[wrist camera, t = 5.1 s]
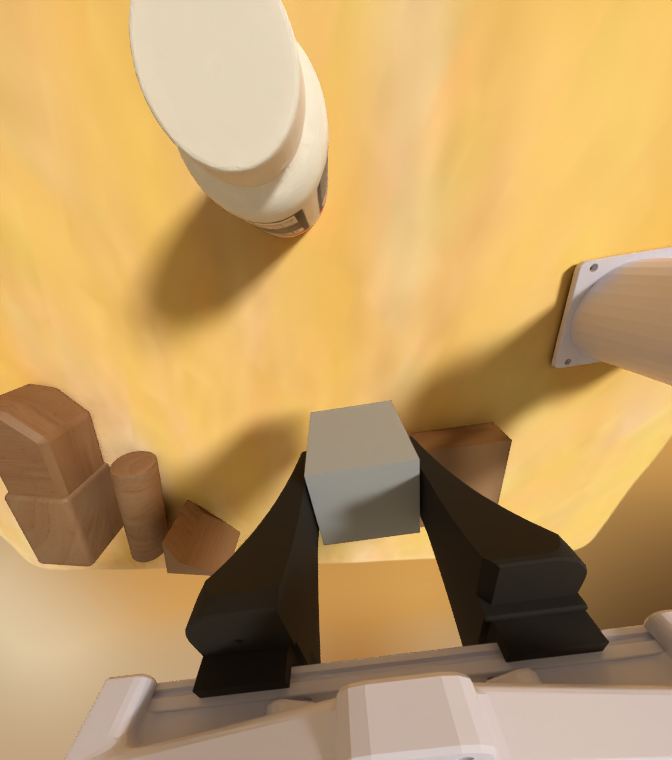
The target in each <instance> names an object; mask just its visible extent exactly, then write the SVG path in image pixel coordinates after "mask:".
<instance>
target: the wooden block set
mask: <svg viewBox="0 0 672 760" xmlns="http://www.w3.org/2000/svg"><path fill="white" fill-rule="evenodd" d="M0 476H1V478H2V480H3V482H4V484H5V486H6V488H7V490H8V493H7V494H6V496H5V500H6V502H7V504H8V506H9V508H10V509H11V511H12V513H13V515H14V517H15V518H16V520H17V522H18V524H19V526H20V528H21V529H22V531H23V533H24V535H25V537H26V539H27V540H28V542H29V544H30V546H31V548H32V550H33V551H34V553H35V555H36V557H37V559H38V561H39V562H40V563H43V564H57V565H73V566H91V565H92V564H93V563H95V561H96V560H97V559H98V557H99V556H100V555H101V554H102V552H103V551H104V550H105V549H106V547H107V546H108V545H109V543H110V542H111V541H112V540H113V538H114V537H115V536H116V534H117V533H118V532H119V531H120V529H121V528H122V527H123V526H124V528H125V532H126V536H127V539H128V543H129V547H130V550H131V554H132V557H133V559H134V560H136V561H138V562H148V561H151V560H154V559H156V558H157V557H159V556H160V555H161V554H162V553H163V552H164V556H165V561H166V567H167V572H168V573H177V574H195V575H210V576H212V575H213V574H214V573H215V572H216V571H217V570H218V569H219V568H220V567H221V566H222V565H223V564H224V563H225V562H226V561H227V560H228V559H229V558H230V557H231V556H232V555H233V554H234V551H235V548H236V544H237V541H238V538H239V535H240V532H239V531H237V530H236V529H234V528H233V527H232V526H230V525H229V524H227V523H226V522H224V521H222V520H221V519H219V518H218V517H216V516H214V515H213V514H211V513H209V512H208V511H206V510H205V509H203V508H201V507H200V506H198V505H197V504H195V503H193V502H191V501H189V500H187V502H186V503H185V505H184V507H183V508H182V510H181V512H180V513H179V515H178V517H177V518H176V520H175V522H174V523H173V525H172V527H171V529H170V530H169V531H168V525H167V519H166V512H165V506H164V500H163V494H162V487H161V481H160V475H159V469H158V462H157V458H156V456H155V455H154V454H152V453H150V452H146V451H138V452H132V453H129V454H126V455H124V456H122V457H120V458H118V459H117V460H116V461H115V462H114V463H113V464H112V465H111V467H109V465H108V464H107V463H104V462H103V460H102V456H101V453H100V449H99V446H98V442H97V438H96V435H95V431H94V428H93V424H92V421H91V417H90V413H89V411H87V410H86V409H84V408H83V407H82V406H80V405H79V404H78V403H76V402H75V401H73V400H72V399H71V398H69V397H68V396H67V395H65V394H64V393H63V392H61V391H60V390H58V389H57V388H53V387H48V386H40V385H33V384H28V385H25V386H23V387H20V388H18V389H15V390H12V391H10V392H7V393H5V394H2V395H0Z"/></svg>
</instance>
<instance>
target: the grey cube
mask: <svg viewBox="0 0 672 760" xmlns="http://www.w3.org/2000/svg"><path fill="white" fill-rule="evenodd" d="M304 477H305V480H306V484H307V487H308V491H309V494H310V498H311V501H312V505H313V508H314V512H315V515H316V519H317V522H318V526H319V529H320V533H321V536H322V540H323V543H324V545H330V544H337V543H345V542H352V541H360V540H367V539H374V538H382V537H389V536H397V535H404V534H412V533H419V532H420V459H419V457H418V455H417V453H416V451H415V449H414V447H413V445H412V443H411V441H410V439H409V437H408V434H407V432H406V430H405V428H404V426H403V424H402V422H401V420H400V418H399V416H398V414H397V412H396V410H395V408H394V406H393V403H392V401H391V400H390V401H384V402H377V403H371V404H364V405H357V406H351V407H344V408H338V409H331V410H324V411H318V412H311V414H310V424H309V434H308V444H307V453H306V463H305V473H304Z"/></svg>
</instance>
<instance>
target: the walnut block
mask: <svg viewBox="0 0 672 760" xmlns="http://www.w3.org/2000/svg"><path fill="white" fill-rule="evenodd" d="M408 436H412V437H413V438H414V439H415V440H416V441H417V442H418V443H419V444H420V445H421V446H422V447H423V448H424V449H425V450H426V451H427V452H428V453H429V454H430V455H431V456H432V457H434V458H435V459H436V460H437V461H438V462H439V463H440V464H441V465H443V466H444V467H445V468H446V469H447V470H448V471H450V472H451V473H452V474H453V475H455V476H456V477H457V478H459V479H460V480H461V481H463V482H464V483H465V484H467V485H468V486H470V487H471V488H472V489H474V490H475V491H477V492H478V493H480V494H481V495H483V496H485V497H486V498H488V499H490V500H491V501H493V502H495V503H496V504H498V502H499V497H500V492H501V488H502V483H503V479H504V474H505V469H506V465H507V460H508V456H509V451H510V446H511V442H512V440H511V439H510V438H509V437H508V436H507V435H506V434H505V433H504V432H503V431H502V430H500V429H499V428H498V427H497V426H496V425H495V424H494V423H485V424H478V425H470V426H463V427H455V428H448V429H441V430H433V431H426V432H418V433H411V434H408ZM420 527H424V524H423V522H422V519H421V517H420Z"/></svg>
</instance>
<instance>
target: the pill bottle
mask: <svg viewBox="0 0 672 760" xmlns="http://www.w3.org/2000/svg"><path fill="white" fill-rule="evenodd" d="M129 36H130V46H131V53H132V57H133V63H134V67H135V71H136V76H137V78H138V81H139V84H140V87H141V90H142V92H143V95H144V97H145V100H146V102H147V104H148V106H149V108H150V110H151V111H152V113H153V115H154V117H155V118H156V120H157V122H158V123H159V125H160V126H161V127H162V129H163V130H164V132H165V133H166V134H167V135H168V137H169V138H170V139H171V140H172V142H173V143H174V144H175V145H176V146H177V147H178V150H179V152H180V154H181V157H182V159H183V161H184V163H185V165H186V166H187V168H188V170H189V171H190V173H191V175H192V176H193V178H194V179H195V181H196V182H197V183H198V185H199V186H200V187H201V188H202V190H203V191H204V192H205V193H206V194H207V195H208V196H209V197H210V198H211V199H212V200H213V201H214V202H216V203H217V204H218V205H219V206H220V207H222V208H223V209H224V210H226V211H228V212H229V213H231V214H233V215H234V216H237V217H239V218H240V219H242V220H244V221H246V222H248V223H250V224H252V225H254V226H255V227H257V228H259V229H261V230H262V231H264V232H267V233H269V234H271V235H274V236H278V237H294V236H298V235H300V234H303V233H304V232H306V231H307V230H309V229H310V228H311V227H312V226H313V225H314V224H315V223H316V221H317V220H318V219H319V217H320V215H321V213H322V211H323V208H324V206H325V202H326V197H327V187H328V142H329V135H328V120H327V113H326V107H325V101H324V97H323V93H322V90H321V87H320V83H319V80H318V78H317V75H316V73H315V71H314V69H313V66H312V64H311V62H310V61H309V59H308V57H307V55H306V54H305V52H304V51H303V49H302V48H301V46H300V45H299V43H298V42H297V41H296V39H295V36H294V33H293V30H292V27H291V24H290V21H289V19H288V16H287V13H286V11H285V8H284V6H283V4H282V2H281V0H131V2H130V15H129Z"/></svg>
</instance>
